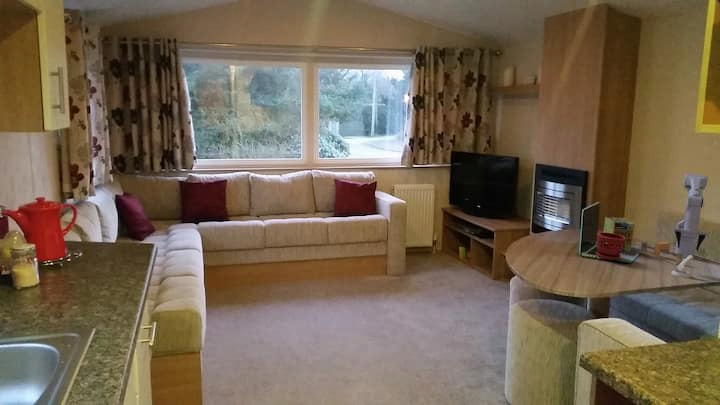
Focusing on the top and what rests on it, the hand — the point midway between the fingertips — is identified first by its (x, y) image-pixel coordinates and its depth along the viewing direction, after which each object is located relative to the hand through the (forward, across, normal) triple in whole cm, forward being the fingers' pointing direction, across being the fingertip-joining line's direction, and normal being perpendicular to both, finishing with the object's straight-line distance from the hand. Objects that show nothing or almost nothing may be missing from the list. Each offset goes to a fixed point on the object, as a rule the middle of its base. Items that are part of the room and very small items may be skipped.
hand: (687, 248), depth 256 cm
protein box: (+7, -32, +26) cm, 42 cm away
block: (+6, -10, +18) cm, 22 cm away
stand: (+8, -10, +18) cm, 22 cm away
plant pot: (+11, -34, +1) cm, 35 cm away
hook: (+12, -2, -8) cm, 15 cm away
